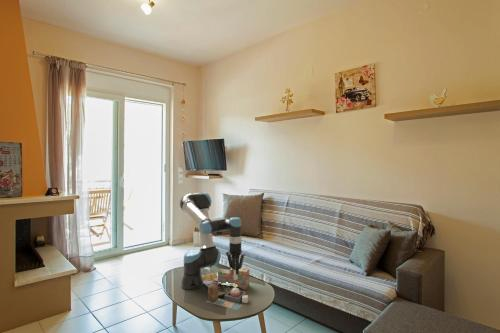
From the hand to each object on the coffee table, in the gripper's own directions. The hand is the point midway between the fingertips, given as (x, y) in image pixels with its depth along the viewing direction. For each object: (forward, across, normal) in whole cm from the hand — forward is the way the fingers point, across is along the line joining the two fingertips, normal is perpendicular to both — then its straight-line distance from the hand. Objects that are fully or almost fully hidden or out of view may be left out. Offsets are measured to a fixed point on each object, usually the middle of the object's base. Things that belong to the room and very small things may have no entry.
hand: (235, 279), depth 184 cm
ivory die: (+13, +7, -1) cm, 14 cm away
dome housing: (+12, 0, 0) cm, 12 cm away
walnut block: (+12, -12, -9) cm, 19 cm away
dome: (+11, 0, 0) cm, 11 cm away
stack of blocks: (+13, -11, +16) cm, 23 cm away
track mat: (+13, -3, -9) cm, 16 cm away
